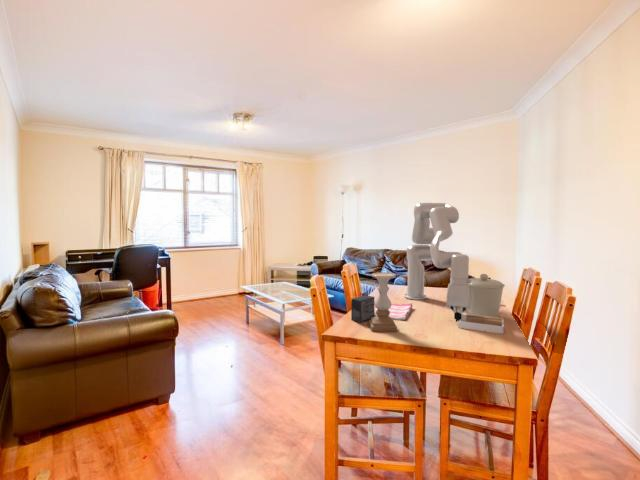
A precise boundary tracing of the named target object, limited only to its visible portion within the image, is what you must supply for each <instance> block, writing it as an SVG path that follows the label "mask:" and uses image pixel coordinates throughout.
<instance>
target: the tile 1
mask: <svg viewBox="0 0 640 480" xmlns="http://www.w3.org/2000/svg"><path fill="white" fill-rule="evenodd" d="M466 314H467V317H466V321H465V322H473V323H481V324H484V315H476V314H469V313H466Z"/></svg>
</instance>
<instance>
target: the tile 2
mask: <svg viewBox="0 0 640 480" xmlns="http://www.w3.org/2000/svg"><path fill="white" fill-rule="evenodd" d="M502 319H503V318H502V317H499V316H497V317H492V316H484V324H489V325H496V326H502Z"/></svg>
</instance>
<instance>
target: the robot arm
mask: <svg viewBox="0 0 640 480" xmlns="http://www.w3.org/2000/svg"><path fill="white" fill-rule="evenodd" d="M459 213H460V212H459V210H458V209H457V208H456V207H455V206H453V205H451V204H449V203H446V202H420V203H419V202H418V203H416V204H415V206H414V208H413V216H414V223H413V229H412V235H411V241H412V243H414V244H411V245H409V246H408V247H407V248H406V257H407V258H406V259H407V288H406V289H407V291H406V292H407V293H406V294H404V297H405V298H406V299H409V300H412V301H413V300H414V301H415V300H416V301H419V300H420V301H423V300H426V299H427V298H428V297H427V295H426V294H425V266H424V264H422V262H424V261H425V262H426V261H427V262H428V261H432V263H433V265H434V267H436V268H437V269H450V273H449V274H450V279H449V282H448V286H447V292H446V300H445V302H446V303H445V308H448V309H451V310H452V312H453V315H454V316H453V317H454V320H455V322H456V323H457V322H458V323H459V321H461V317H462V314H463V313H464V312H465V311H468V310H470V309H471V306H470V304H471V290H470V285H469V284H468V283H471V282H472V280H470V279H468V275H469V268H470V267H469V262H470V258H469V256H468V254H463V253H462V252H459V251H440V249H439V247H440V244H441V242H443V241H445V240H447V239H449V238H450V237H451V236H453V233H454V232H453V229H452V226H451V224H456V223H457V222H458V221H459V219H460V214H459ZM430 225H431V227H430ZM458 307H459V310H458Z"/></svg>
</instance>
